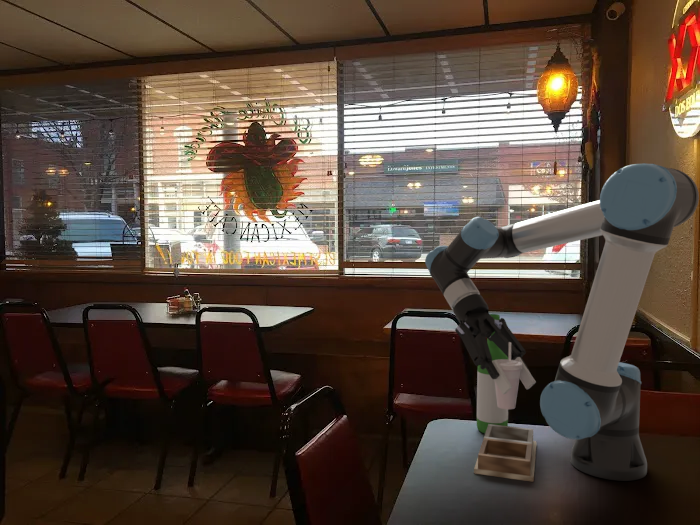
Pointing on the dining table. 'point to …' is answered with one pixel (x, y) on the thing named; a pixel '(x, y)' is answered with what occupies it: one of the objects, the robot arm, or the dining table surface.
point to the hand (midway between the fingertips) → (519, 388)
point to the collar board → (507, 453)
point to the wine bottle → (489, 393)
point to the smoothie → (513, 375)
